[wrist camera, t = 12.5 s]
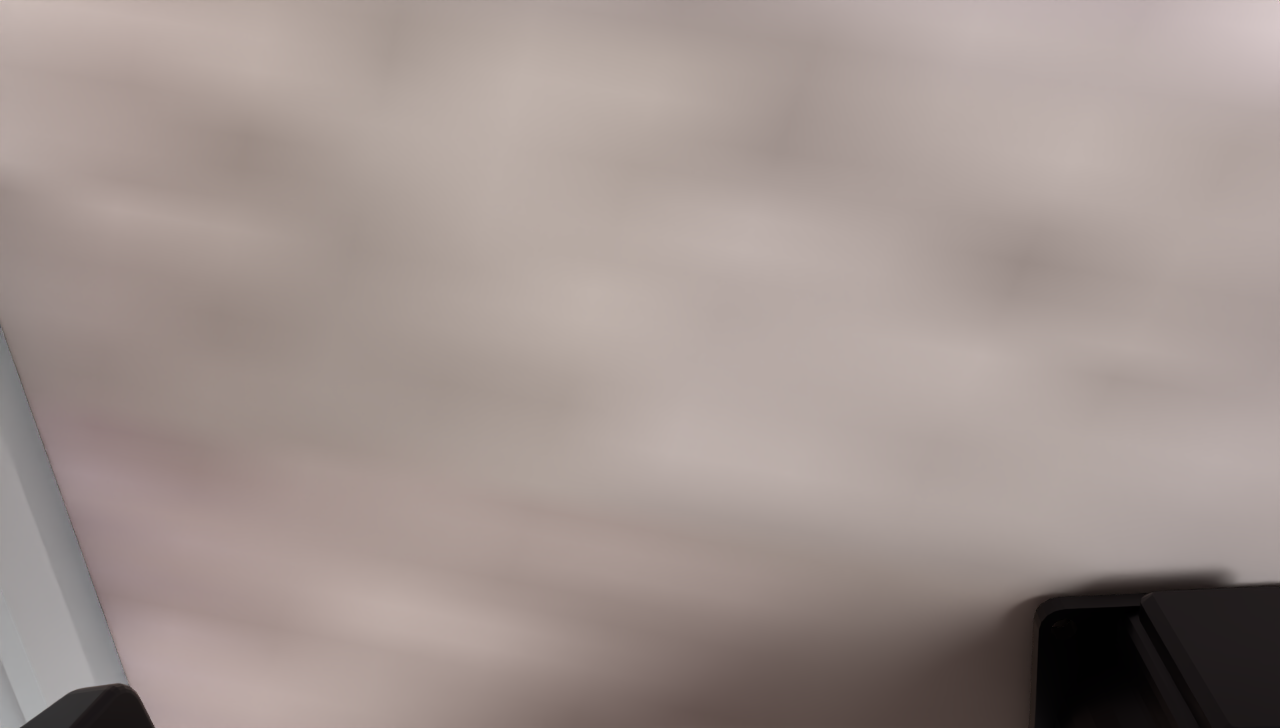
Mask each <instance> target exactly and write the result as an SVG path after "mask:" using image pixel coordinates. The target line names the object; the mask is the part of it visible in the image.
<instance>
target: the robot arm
mask: <svg viewBox="0 0 1280 728" xmlns="http://www.w3.org/2000/svg"><path fill="white" fill-rule="evenodd" d="M1062 619H1069V620H1070V622H1069V623H1068V624H1067V625H1065V626H1063V627H1059V628H1057V627H1052V626H1053V624H1054V623H1056V622H1057V621H1058V620H1062ZM20 728H155V727H154V725H153V723H152V721H151V719H150V717H149V715H148V713H147V711H146V709H145V707H144V705H143V703H142V701H141V699H140V697H139V696H138V694H137V693H136V691H135V690H133V689H132V688H131V687H130V686H128V685H125V684H121V683H115V684H107V685H100V686H92V687H85V688H80V689H76V690H74V691H71V692H69V693H68V694H66V695H64V696H63V697H62V698H60V699H59V700H58V701H56V702H55V703H53V704H52V705H51V706H49V707H48V708H46V709H45V710H44V711H42V712H41V713H39V714H38V715H37V716H35V717H34V718H33V719H31V720H30V721H28V722H27V723H26V724H24V725H23V726H21V727H20ZM1029 728H1280V587H1277V586H1266V587H1244V588H1222V589H1199V590H1177V591H1156V592H1152V593H1143V594H1120V595H1098V596H1076V597H1058V598H1053V599H1049V600H1048V601H1046V602H1044V603H1042V604H1041V605H1040V607H1039V608H1038V609H1037V610H1036V612H1035V616H1034V625H1033V649H1032V673H1031V696H1030V720H1029Z"/></svg>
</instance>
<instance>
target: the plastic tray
mask: <svg viewBox="0 0 1280 728" xmlns="http://www.w3.org/2000/svg"><path fill="white" fill-rule="evenodd" d="M115 683H121V684H125V685H128V686H129V684H128V681H127V678H126V676H125V673H124V670H123V667H122V664H121V662H120V659H119V656H118V653H117V650H116V648H115V645H114V642H113V639H112V636H111V634H110V631H109V628H108V625H107V622H106V620H105V617H104V614H103V611H102V608H101V606H100V603H99V600H98V597H97V594H96V592H95V589H94V586H93V583H92V580H91V578H90V575H89V572H88V569H87V566H86V564H85V561H84V558H83V555H82V552H81V550H80V547H79V544H78V541H77V538H76V536H75V533H74V530H73V527H72V524H71V522H70V519H69V516H68V513H67V510H66V508H65V505H64V502H63V499H62V496H61V493H60V491H59V488H58V485H57V482H56V479H55V477H54V474H53V471H52V468H51V465H50V463H49V460H48V457H47V454H46V451H45V449H44V446H43V443H42V440H41V437H40V435H39V432H38V429H37V426H36V423H35V421H34V418H33V415H32V412H31V409H30V407H29V404H28V401H27V398H26V395H25V393H24V390H23V387H22V384H21V381H20V379H19V376H18V373H17V370H16V367H15V365H14V362H13V359H12V356H11V353H10V351H9V348H8V345H7V342H6V339H5V337H4V334H3V331H2V328H1V325H0V728H20V727H21V726H23V725H24V724H26V723H27V722H28V721H30V720H31V719H33V718H34V717H35V716H37V715H38V714H39V713H41V712H42V711H44V710H45V709H46V708H48V707H49V706H51V705H52V704H53V703H55V702H56V701H58V700H59V699H60V698H62V697H63V696H64V695H66V694H68V693H69V692H71V691H74V690H76V689H80V688H85V687H92V686H100V685H107V684H115Z"/></svg>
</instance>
